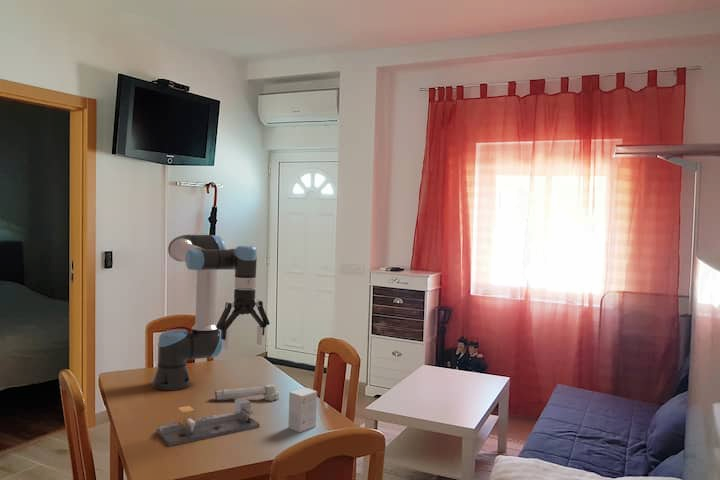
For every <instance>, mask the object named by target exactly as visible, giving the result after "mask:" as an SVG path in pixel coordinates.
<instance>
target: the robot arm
mask: <svg viewBox="0 0 720 480" xmlns="http://www.w3.org/2000/svg"><path fill="white" fill-rule="evenodd" d="M223 239H224V238H222V237H221V236H219V235H216V234H215V235H213V234H183V235H179V236H176V237H175V238H173V239H172V240H171V241H170V243H169V244H168V247H167V250H168V254H169V256H170V258H172V259H173V260H174V261H176V262H183V263H185V266H186V268H187V270H192V271H196V284H195V285H196V287H195V288H196V290H195V295H196V296H195V318H194V319H195V322H194V323H195V324H194V325H193V326H192V327H191V331H190V332H189V331H188V330H187V329H185V328H176V329H175V328H174V329H170V330H166V331H164V332H162V333H161V334H160V335H159V337H158V342H157V347H158V348H157V369H156V371H155V374H154V376H153V379H152V387H153V388H154V389H156V390H160V391H176V390H178V391H179V390H183V389H185V388H187V387H189V386H190V384H191V378H190V375H189V371H188V367H187V361H189V360H190V361H191V360H198V359H211V358H216V357H218V356H219V355H220V353H221V352H222V350H223V349H225V350H229V335H230V333H229V332H230V331H229V330H228V329H229V328H230V326H231V325H232V324H233V322H234V321H235V320H236V319H237V317H238V316H239V315H242V316H243V315H245V314H246V315H249V314H250V315H251V316H252V318H253V319H254V321H256V323H257V325H258V326H256V330H257V331H256V344H257V345H260V346H262V345H263V336H265V328H266V327H267V326H269V325H270V320H269V318H268V315H267V313H266V311H265V309H264V304H263V301H261V300H259V299H258V300H256V301H255V299H256V289H255V288H256V280H257V278H256V277H257V260H258V254H257V253H258V251H257V248H256V247H255V246H251V245H238V246H236V247H235V248H231V249H230V248H229V249H226V245H225V242H224V240H223ZM219 270H221V271H222V270H224V271H225V270H233V271H234V286H233V287H234V288H235V289H234V291H233V299H234V300H233V302H228V301H227V302H226V303H224V304H225V306H224V310H223V311H222V313H221V316H220V317H219V320H218V322H217V324H216V318H217V317H216V316H217V283H218V282H217V281H218V271H219ZM255 307H256V308H257V311H258V313H259V315H260V316H259V315H258V313H257V312H256V310H255V309H254V308H255ZM233 308H234V309H233ZM232 309H233V310H232ZM231 310H232V311H231ZM230 313H231V314H230Z"/></svg>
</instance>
